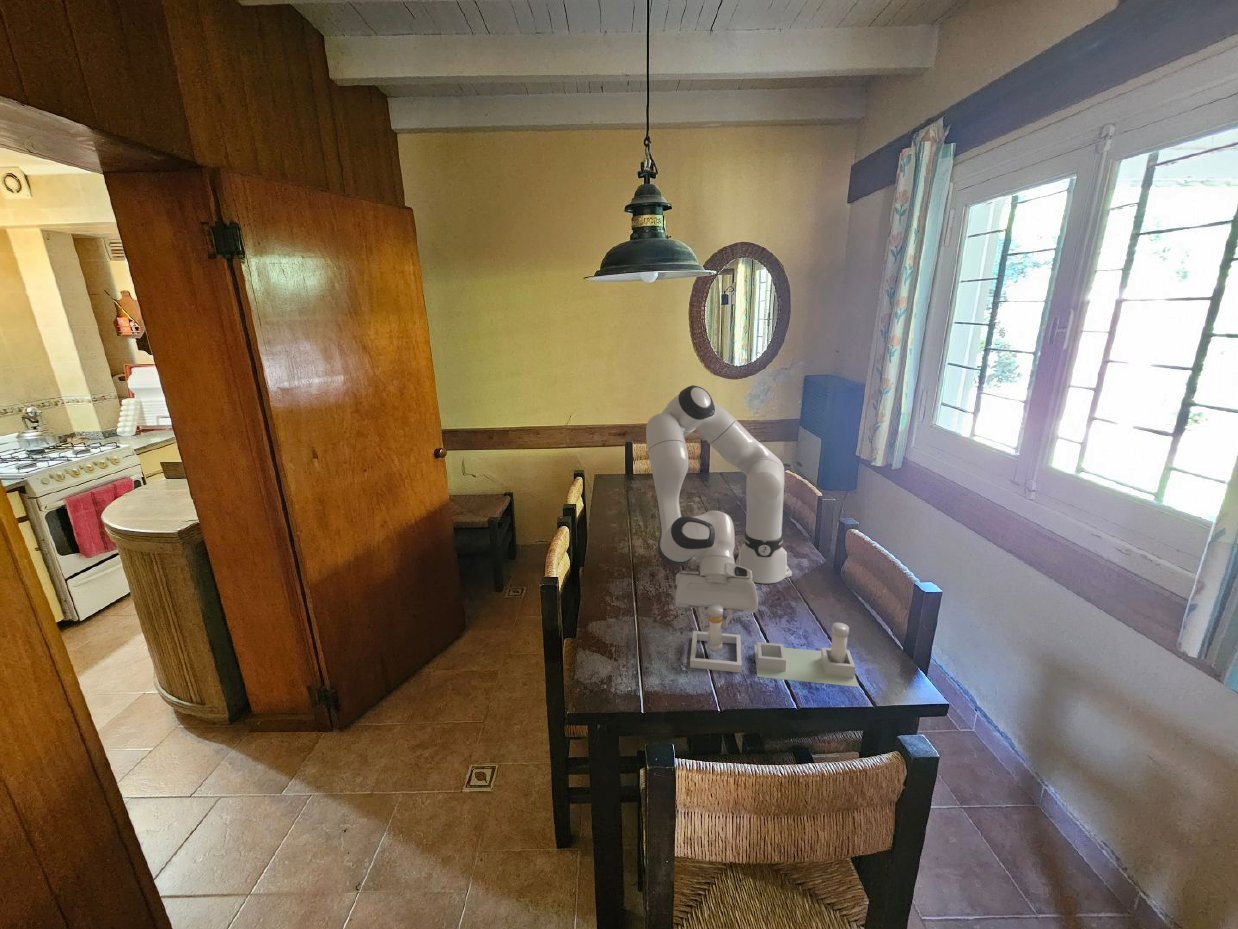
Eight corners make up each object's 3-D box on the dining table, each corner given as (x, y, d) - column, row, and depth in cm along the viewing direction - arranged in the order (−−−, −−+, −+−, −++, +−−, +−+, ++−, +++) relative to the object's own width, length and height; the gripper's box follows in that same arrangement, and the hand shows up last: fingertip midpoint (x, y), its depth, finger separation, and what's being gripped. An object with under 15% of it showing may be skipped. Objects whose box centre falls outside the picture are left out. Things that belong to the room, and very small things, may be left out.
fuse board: (754, 648, 129) (754, 634, 128) (846, 656, 124) (848, 642, 123) (757, 680, 117) (757, 665, 116) (858, 690, 113) (860, 675, 112)
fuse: (827, 662, 121) (830, 622, 118) (843, 663, 120) (847, 623, 117) (830, 672, 118) (833, 631, 115) (846, 673, 117) (850, 632, 114)
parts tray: (693, 640, 133) (693, 630, 132) (740, 645, 130) (740, 634, 129) (690, 671, 121) (690, 660, 121) (741, 676, 119) (741, 665, 118)
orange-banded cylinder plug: (707, 642, 127) (708, 603, 124) (722, 643, 126) (723, 604, 123) (707, 651, 124) (707, 611, 121) (722, 652, 123) (723, 612, 120)
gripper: (675, 566, 129) (671, 621, 122) (758, 571, 125) (758, 628, 118) (677, 573, 134) (673, 626, 128) (756, 578, 130) (757, 634, 124)
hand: (715, 627), depth 123 cm, fingers closed on orange-banded cylinder plug, 3 cm apart
